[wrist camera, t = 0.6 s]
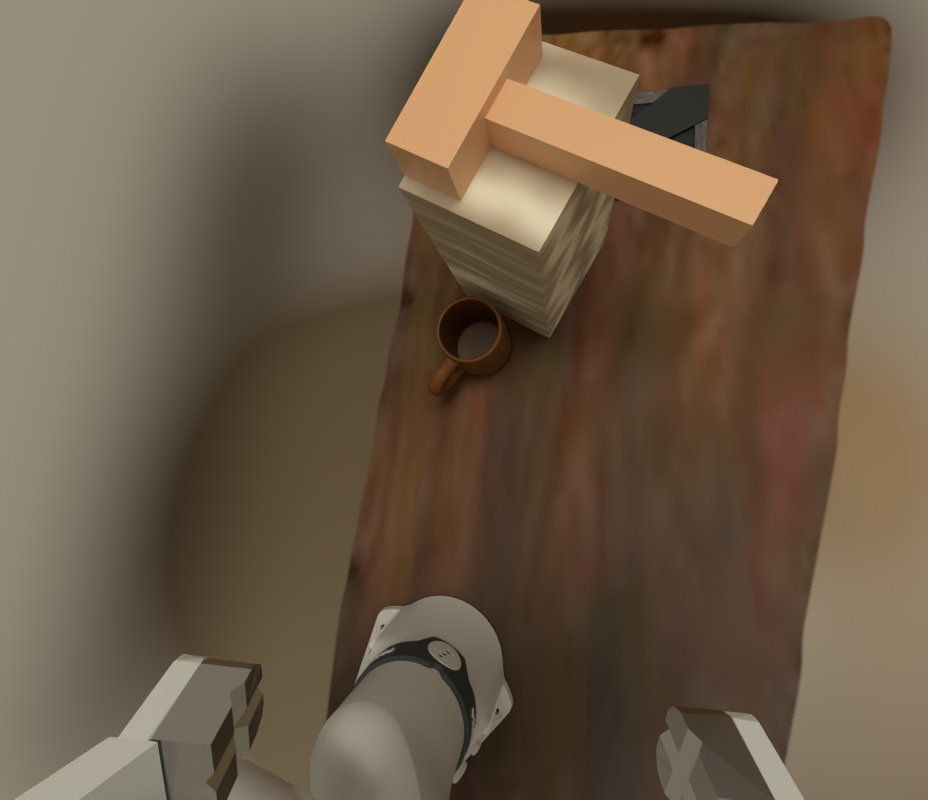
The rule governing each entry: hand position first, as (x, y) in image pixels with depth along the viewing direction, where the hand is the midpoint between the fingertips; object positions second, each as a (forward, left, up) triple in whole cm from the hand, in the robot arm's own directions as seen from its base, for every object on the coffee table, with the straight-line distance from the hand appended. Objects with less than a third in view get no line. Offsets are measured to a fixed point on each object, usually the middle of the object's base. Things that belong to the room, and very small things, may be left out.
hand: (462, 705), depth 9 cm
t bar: (+23, +9, -22) cm, 33 cm away
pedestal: (+23, +15, -48) cm, 55 cm away
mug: (+9, +16, -48) cm, 51 cm away
